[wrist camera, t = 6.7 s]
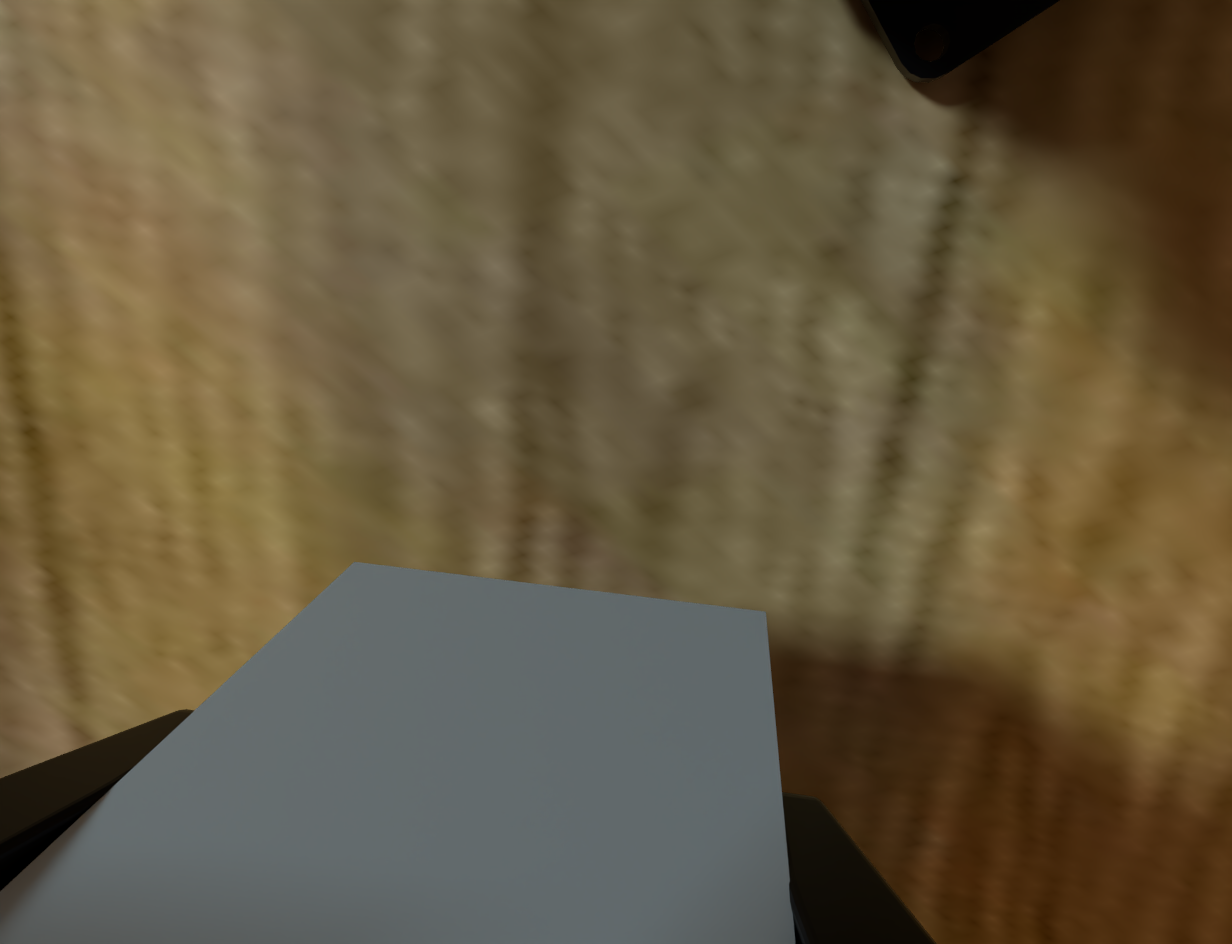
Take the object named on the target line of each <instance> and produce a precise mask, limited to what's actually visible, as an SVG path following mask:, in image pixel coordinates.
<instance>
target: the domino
mask: <svg viewBox="0 0 1232 944" xmlns="http://www.w3.org/2000/svg"><path fill="white" fill-rule="evenodd" d="M789 882H790V877H789V866H788V855H787V843H786V832H785V821H784V810H783V799H782V788H781V777H780V765H779V754H778V743H777V732H776V721H775V710H774V699H773V687H772V676H771V665H770V654H769V643H768V632H767V621H766V612H763V611H755V610H747V609H738V608H730V607H722V606H714V605H705V604H697V603H689V602H680V601H672V600H664V599H656V598H647V597H639V596H631V595H623V594H614V593H606V592H598V591H590V590H581V589H573V588H565V587H557V586H548V585H540V584H532V583H524V582H515V581H507V580H499V579H490V578H482V577H474V576H466V575H457V574H449V573H441V572H433V571H424V570H416V569H408V568H400V567H391V566H383V565H375V564H367V563H358V562H354V563H353V564H352V565H351V566H350V567H348V568H347V569H346V570H345V571H344V572H343V573H342V574H341V575H340V576H339V577H338V578H337V579H336V580H335V581H333V582H332V583H331V584H330V585H329V586H328V587H327V588H326V589H325V590H324V591H323V592H322V593H321V594H319V595H318V596H317V597H316V598H315V599H314V600H313V601H312V602H311V603H310V604H309V605H308V606H307V607H305V608H304V609H303V610H302V611H301V612H300V613H299V614H298V615H297V616H296V617H295V618H294V619H293V620H292V621H290V622H289V623H288V624H287V625H286V626H285V627H284V628H283V629H282V630H281V631H280V632H279V633H278V634H276V635H275V636H274V637H273V638H272V639H271V640H270V641H269V642H268V643H267V644H266V645H265V646H264V647H263V648H261V649H260V650H259V651H258V652H257V653H256V654H255V655H254V656H253V657H252V658H251V659H250V660H249V661H247V662H246V663H245V664H244V665H243V666H242V667H241V668H240V669H239V670H238V671H237V672H236V673H235V674H234V675H232V676H231V677H230V678H229V679H228V680H227V681H226V682H225V683H224V684H223V685H222V686H221V687H220V688H218V689H217V690H216V691H215V692H214V693H213V694H212V695H211V696H210V697H209V698H208V699H207V700H206V701H204V702H203V703H202V704H201V705H200V706H199V707H198V708H197V709H196V710H195V711H194V712H193V713H192V714H191V715H189V716H188V717H187V718H186V719H185V720H184V721H183V722H182V723H181V724H180V725H179V726H178V727H177V728H175V729H174V730H173V731H172V732H171V733H170V734H169V735H168V736H167V737H166V738H165V739H164V740H163V741H162V742H160V743H159V744H158V745H157V746H156V747H155V748H154V749H153V750H152V751H151V752H150V753H149V754H148V755H146V756H145V757H144V758H143V759H142V760H141V761H140V762H139V763H138V764H137V765H136V766H135V767H134V768H132V769H131V770H130V771H129V772H128V773H127V774H126V775H125V776H124V777H123V778H122V779H121V780H120V781H119V782H117V783H116V784H115V785H114V786H113V787H112V788H111V789H110V790H109V791H108V792H107V793H106V794H105V795H104V796H103V797H101V798H100V799H99V800H98V801H97V802H96V803H95V804H94V805H93V806H92V807H91V808H90V809H88V810H87V811H86V812H85V813H84V814H83V815H82V816H81V817H80V818H79V819H78V820H77V821H76V822H74V823H73V824H72V825H71V826H70V827H69V828H68V829H67V830H66V831H65V832H64V833H63V834H62V835H61V836H59V837H58V838H57V839H56V840H55V841H54V842H53V843H52V844H51V845H50V846H49V847H48V848H47V849H45V850H44V851H43V852H42V853H41V854H40V855H39V856H38V857H37V858H36V859H35V860H34V861H33V862H31V863H30V864H29V865H28V866H27V867H26V868H25V869H24V870H23V871H22V872H21V873H20V874H19V875H18V876H16V877H15V878H14V879H13V880H12V881H11V882H10V883H9V884H8V885H7V886H6V887H5V888H4V889H2V890H1V891H0V944H795V932H794V921H793V913H792V909H791V904H790V893H789Z"/></svg>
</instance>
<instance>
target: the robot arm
mask: <svg viewBox="0 0 1232 944" xmlns="http://www.w3.org/2000/svg"><path fill="white" fill-rule="evenodd" d="M861 1H862V3H863V5H864V7H865V9H866V11H867V13H868V15H869V17H870V18H871V20H872V22H873V24H874V26H875V28H876V30H877V32H878V34H879V35H880V37H881V39H882V41H883V43H884V45H885V47H886V49H887V51H888V52H889V54H890V56H891V58H892V60H893V62H894V64H895V66H896V67H897V69H898V70H899V71H900V72H901V73H902V75H903V76H904V77H906V78H908V79H910V80H912V81H914V82H931V81H933V80H936V79H938V78H940V77H942V76H944V75H945V74H947V73H949V72H950V71H952V70H953V69H955V68H956V67H958V66H959V65H961V64H962V63H964V62H965V61H967V60H969V59H970V58H972V57H973V56H975V55H976V54H978V53H979V52H981V51H982V50H984V49H986V48H987V47H989V46H990V45H992V44H993V43H995V42H996V41H998V40H999V39H1001V38H1002V37H1004V36H1006V35H1007V34H1009V33H1010V32H1012V31H1013V30H1015V29H1016V28H1018V27H1019V26H1021V25H1022V24H1024V23H1026V22H1027V21H1029V20H1030V19H1032V18H1033V17H1035V16H1036V15H1038V14H1039V13H1041V12H1042V11H1044V10H1046V9H1047V8H1049V7H1050V6H1052V5H1053V4H1055V3H1056V2H1058V1H1059V0H861ZM926 29H929V30H934V31H936V32H937V33H938V34H939V35H940V36H941V37H942V40H943V45H944V47H943V51H942V54H941V56H940V57H939V58H938V59H937V60H934V61H932V62H930V61H926V60H922V59H921V58H920V57H919V56H918V55H917V54H916V51H915V46H914V42H915V39H916V35H917V34H918V32H920V31H923V30H926ZM194 711H195V710H187V709H185V710H179V711H175V712H173V713H170V714H168V715H165V716H162V717H160V718H157V719H154V720H152V721H149V722H147V723H144V724H141V725H139V726H136V727H134V728H131V729H128V730H126V731H123V732H120V733H118V734H115V735H113V736H110V737H107V738H105V739H102V740H100V741H97V742H94V743H92V744H89V745H86V746H84V747H81V748H79V749H76V750H73V751H71V752H68V753H66V754H63V755H60V756H58V757H55V758H52V759H50V760H47V761H45V762H42V763H39V764H37V765H34V766H32V767H29V768H26V769H24V770H21V771H18V772H16V773H13V774H11V775H8V776H5V777H3V778H0V891H1V890H2V889H4V888H5V887H6V886H7V885H8V884H9V883H10V882H11V881H12V880H13V879H14V878H15V877H16V876H18V875H19V874H20V873H21V872H22V871H23V870H24V869H25V868H26V867H27V866H28V865H29V864H30V863H31V862H33V861H34V860H35V859H36V858H37V857H38V856H39V855H40V854H41V853H42V852H43V851H44V850H45V849H47V848H48V847H49V846H50V845H51V844H52V843H53V842H54V841H55V840H56V839H57V838H58V837H59V836H61V835H62V834H63V833H64V832H65V831H66V830H67V829H68V828H69V827H70V826H71V825H72V824H73V823H74V822H76V821H77V820H78V819H79V818H80V817H81V816H82V815H83V814H84V813H85V812H86V811H87V810H88V809H90V808H91V807H92V806H93V805H94V804H95V803H96V802H97V801H98V800H99V799H100V798H101V797H103V796H104V795H105V794H106V793H107V792H108V791H109V790H110V789H111V788H112V787H113V786H114V785H115V784H116V783H117V782H119V781H120V780H121V779H122V778H123V777H124V776H125V775H126V774H127V773H128V772H129V771H130V770H131V769H132V768H134V767H135V766H136V765H137V764H138V763H139V762H140V761H141V760H142V759H143V758H144V757H145V756H146V755H148V754H149V753H150V752H151V751H152V750H153V749H154V748H155V747H156V746H157V745H158V744H159V743H160V742H162V741H163V740H164V739H165V738H166V737H167V736H168V735H169V734H170V733H171V732H172V731H173V730H174V729H175V728H177V727H178V726H179V725H180V724H181V723H182V722H183V721H184V720H185V719H186V718H187V717H188V716H189V715H191V714H192V713H193V712H194ZM782 799H783V810H784V821H785V832H786V843H787V855H788V866H789V877H790V882H789V893H790V904H791V909H792V913H793V921H794V932H795V944H936V942H935V941H934V940H933V939H932V938H931V936H930V935H929V934H928V933H927V931H926V930H925V929H924V928H923V926H922V925H921V924H920V923H919V921H918V920H917V919H916V918H915V916H914V915H913V914H912V913H911V911H910V910H909V909H908V908H907V907H906V905H905V904H904V903H903V902H902V900H901V899H900V898H899V897H898V895H897V894H896V893H895V892H894V890H893V889H892V888H891V887H890V885H889V884H888V883H887V882H886V880H885V879H884V878H883V877H882V876H881V874H880V873H879V872H878V871H877V869H876V868H875V867H874V866H873V864H872V863H871V862H870V861H869V859H868V858H867V857H866V856H865V854H864V853H863V852H862V851H861V850H860V848H859V847H858V846H857V845H856V843H855V842H854V841H853V840H852V838H851V837H850V836H849V835H848V833H847V832H846V831H845V830H844V828H843V827H842V826H841V825H840V823H839V822H838V821H837V820H836V819H835V817H834V816H833V815H832V814H831V812H830V811H829V810H828V809H827V807H826V806H825V805H824V804H823V803H822V801H820V800H819V799H818V798H816V797H813V796H806V795H799V794H792V793H784V792H782Z"/></svg>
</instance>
